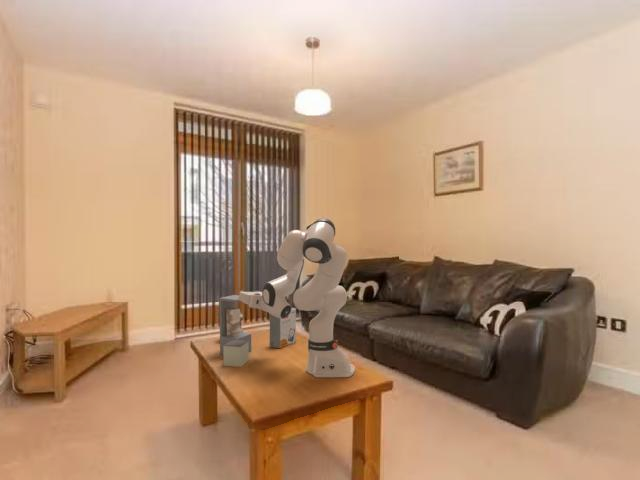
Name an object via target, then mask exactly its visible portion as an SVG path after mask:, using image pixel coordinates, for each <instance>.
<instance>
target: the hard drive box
mask: <svg viewBox="0 0 640 480" xmlns="http://www.w3.org/2000/svg"><path fill="white" fill-rule="evenodd" d="M296 309H297V308H296V307H292V309H291V312H290V314H289V315H288V316H287V317H285V318H283V319H281V318H277V317H275V316H273V315H271V314H269V347H271V348H275V349H281V348H285V347H287V346H289V345H290V344H292V345H293V344H294V343H295V342H296V341H297V339H296V338H297V337H296V336H297V333H296V331H297V320H296V319H297V318H296V317H297V316H296V315H297V314H296V313H297V311H296Z"/></svg>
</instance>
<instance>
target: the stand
mask: <svg viewBox="0 0 640 480" xmlns="http://www.w3.org/2000/svg"><path fill="white" fill-rule="evenodd" d="M223 353H224V355H223V367H225V366H226V367H239V368H241V367H242V366H244V365H245V364H246V363H247V362H249V360H250V357H249V355H250V352H249V341H243V340H231V341H230V342H228V343H226V344H225V345H224V346H223Z"/></svg>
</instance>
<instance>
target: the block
mask: <svg viewBox="0 0 640 480" xmlns="http://www.w3.org/2000/svg"><path fill="white" fill-rule="evenodd" d="M240 312H241V308H239V307H236V308H234V307H233V308H229V309H226V318H227V335H228V336H237V335H239V334H240Z"/></svg>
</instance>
